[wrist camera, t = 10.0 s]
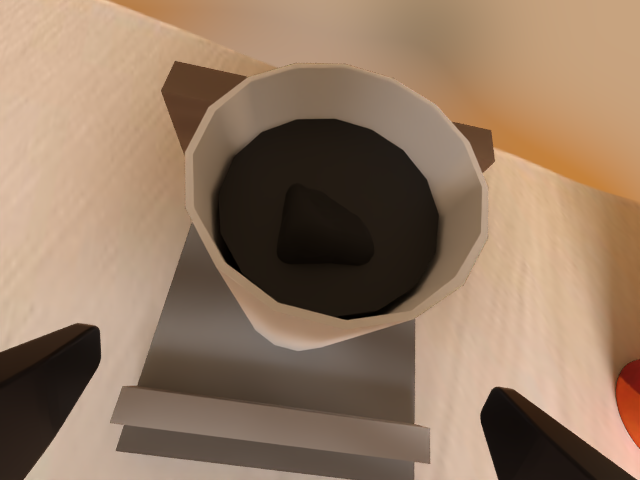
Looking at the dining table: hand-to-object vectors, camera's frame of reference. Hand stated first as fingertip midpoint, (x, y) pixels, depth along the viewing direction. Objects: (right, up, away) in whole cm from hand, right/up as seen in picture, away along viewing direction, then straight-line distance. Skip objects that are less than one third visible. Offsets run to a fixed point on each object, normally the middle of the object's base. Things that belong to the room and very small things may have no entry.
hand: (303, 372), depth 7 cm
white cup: (-1, 0, +9) cm, 9 cm away
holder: (-1, 0, +9) cm, 9 cm away
